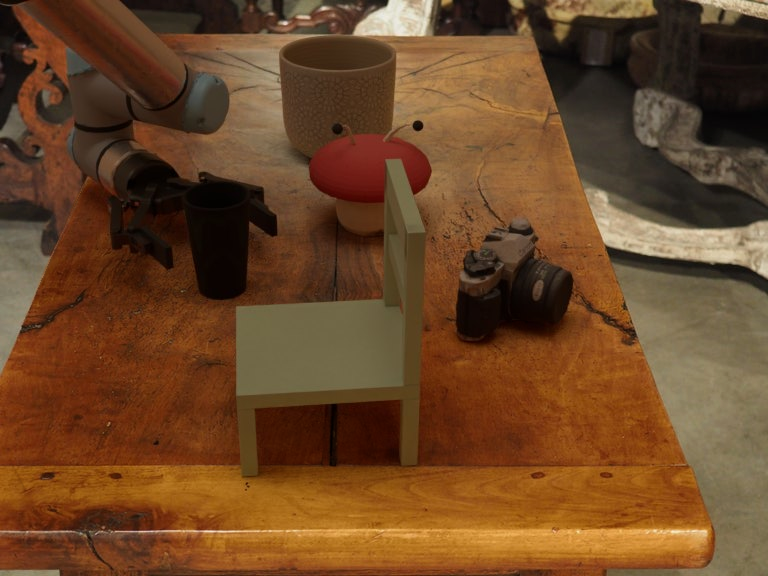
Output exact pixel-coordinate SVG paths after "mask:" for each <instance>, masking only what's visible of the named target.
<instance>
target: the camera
mask: <svg viewBox="0 0 768 576" xmlns="http://www.w3.org/2000/svg"><path fill="white" fill-rule="evenodd" d="M539 240H540V237H539V235H538V234H536V231H535V228H534V227H533V226H532V224H531V222H530V221H529V219H528V218H526V217H514V218H512V219H511V221H510V222H509V225H508V227H507V228H506V227H502V226H494V228H492V229H491V230H490V232H488V233H487V234H486V235H485V237H484V239H483V240H482V242H481V245H480V247H479V250H475V249H468V250H467V251H466V252H465V256H463V257H464V258H463V259H462V262H463V263H462V265H463V269H462V270H461V272H460V273H459V276H458V287H457V288H458V289H457V296H456V297H457V300H456V303H455V327H456V331H455V333H456V335H457V336H458V337H459V339H460V340H462V341H465V342H466V341H467V342H477V341H482V339H484V338H485V336H486V335H488V334H492V333H494V332H496V330H497V329H498V327H499V325H500V324H502V323H503V322H510V321H517V320H519V321H528V322H534V323H539V324H548V325H551V326H556V325H559V324H560V323H561V322H562V320H563V319H564V316H565V315H566V313H567V311H568V309H569V305H570V301H571V298H572V295H573V288H574V277H573V273H572V272H571V271H570V270H568V269H564V268H563V267H562V266H560V265H555V264H552V263H549V262H547V261H545V260H543V259H537V258H535V252H536V243H537V242H538V241H539Z"/></svg>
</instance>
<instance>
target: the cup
mask: <svg viewBox="0 0 768 576" xmlns="http://www.w3.org/2000/svg"><path fill="white" fill-rule="evenodd" d="M250 199H251V193H250V191H249V190H248V189H247V188H246V187H245V186H243V185H241V184H238V183H234V182H228V181H211V182H205V183H200V184H197V185H194V186H192V187H190V188H188V189H187V190H186V191H185V192H184V193H183V194H182V204H183V209H184V210H183V215H184V218H185V219H184V220H185V224H186V231H187V235H188V240H189V245H190V251H191V254H192V261H193V267H194V271H195V276H196V283H197V288H198V292H199V293H200V294H201V295H202V297H205V298H207V299H210V300H217V301H218V300H220V301H223V300H230V299H234V298H237V297H239V296H242V294H243V293H245V292H246V289H247V284H248V283H247V282H248V281H247V280H248V261H249V241H250V221H249V220H250Z"/></svg>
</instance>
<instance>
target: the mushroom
mask: <svg viewBox="0 0 768 576" xmlns="http://www.w3.org/2000/svg"><path fill="white" fill-rule="evenodd" d="M408 126H409V127H410V126H411V127H412V129H413V130H414V131H415V132H421V131H423V129H424V127H425V126H424V122H423V121H421V120H419V119H418V120H417V119H416V120H414V121H413V123H412V124H411V123H403V124H401V125H397V126H395V127H394V128H392V129H391V131H390V132H389V133H388V134H387V135H378V134H358V135H353V134H352V132H351V130H350V128H349V127H348V126H346V125H343V126H342V125H341V124H339V123H336V124H334V125H333V127H332V131H333V133H334V134H337V135H339V134H341V133H342V131H343V127H345V128H346V129H347V131H348V134H349V136H346V137H343V138H340V139H337V140H334V141H332V142H330V143H329V144H327V145H325V146H324V147H322V148H321V149H319V150H318V151H317V152H316V153H315V155H314V156H313V158H310V159H311V160H310V161H309V163H308V174H309V178H310V181H311V184H312V185H313V186H314V187H315V188H316V189H317V190H318V191H319V192H320V193H322V194H324V195H327V196H329V197H330V198H334V199H335V211H336V217H337V221H338V223H339V224H340V225H341V226H342V227H343V228H344V229H345V230H346V231H347V232H349V233H351V234H353V235H357V236H362V237H380V236H384V205H385V159H401V160H402V163H403V166H404V169H405V172H406V175H407V178H408V181H409V184H410V187H411V190H412V193H413V196H415V195H418V194H419V193H420V192H422V191H423V190H424V189H425V188H426V187H427V186H428V184H429V182H430V180H431V177H432V172H433V171H432V166H431V163H430V160H429V158H428V156H427V155H426V154H425V153H424V152H423V151H422V150H421V149H419V147H417V146H416V145H414V144H413V143H411V142H408V141H406V140H404V139H401V138H399V137H395V136H394V135H395V134H396V133H398V132H399V131H401V129H403V128H405V127H408Z"/></svg>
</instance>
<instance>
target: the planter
mask: <svg viewBox="0 0 768 576" xmlns="http://www.w3.org/2000/svg"><path fill="white" fill-rule="evenodd" d="M278 63H279V64H278V65H279V79H280V91H281V104H282V105H281V107H282V120H283V127H284V131H285V134H286V137H287V138H288V141H289V142H290V144H291V145H292V146H293V147H294V148H295V149H296V150H297V151H298V152H299V153H301V154H302V155H304V156H306V157H307V158H309V159H312V158H313V156H314V155H315V153H316V152H317V151H318V150H319V149H321V148H322V147H324V146H325V145H327V144H329V143H330V142H332V141H334V140H337V139H340V138H343V137H346V136H349V134H348V131H347V129H346V128H345V127H343V131H342V133H341V134H339V135H337V134H334V133H333V131H332V127H333V125H334V124H336V123H339V124H341V125H342V126H343V125H346V126H348V127H349V128H350V130H351V132H352V134H353V135H358V134H378V135H387V134H388V133H389V132H390V131H391V130H393V122H394V113H395V112H394V111H395V110H394V109H395V93H396V78H397V77H396V76H397V51H396V50H395V48H394V47H393V46H391V45H390V44H388V43H386V42H384V41H382V40H379V39H375V38H370V37H365V36H358V35H350V34H349V35H347V34H329V35H328V34H327V35H326V34H325V35H315V36H309V37H303V38H300V39H296V40H293V41H291V42H289V43H286V44H285V45H283V46H282V47H281V48H280V50H279V53H278Z"/></svg>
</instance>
